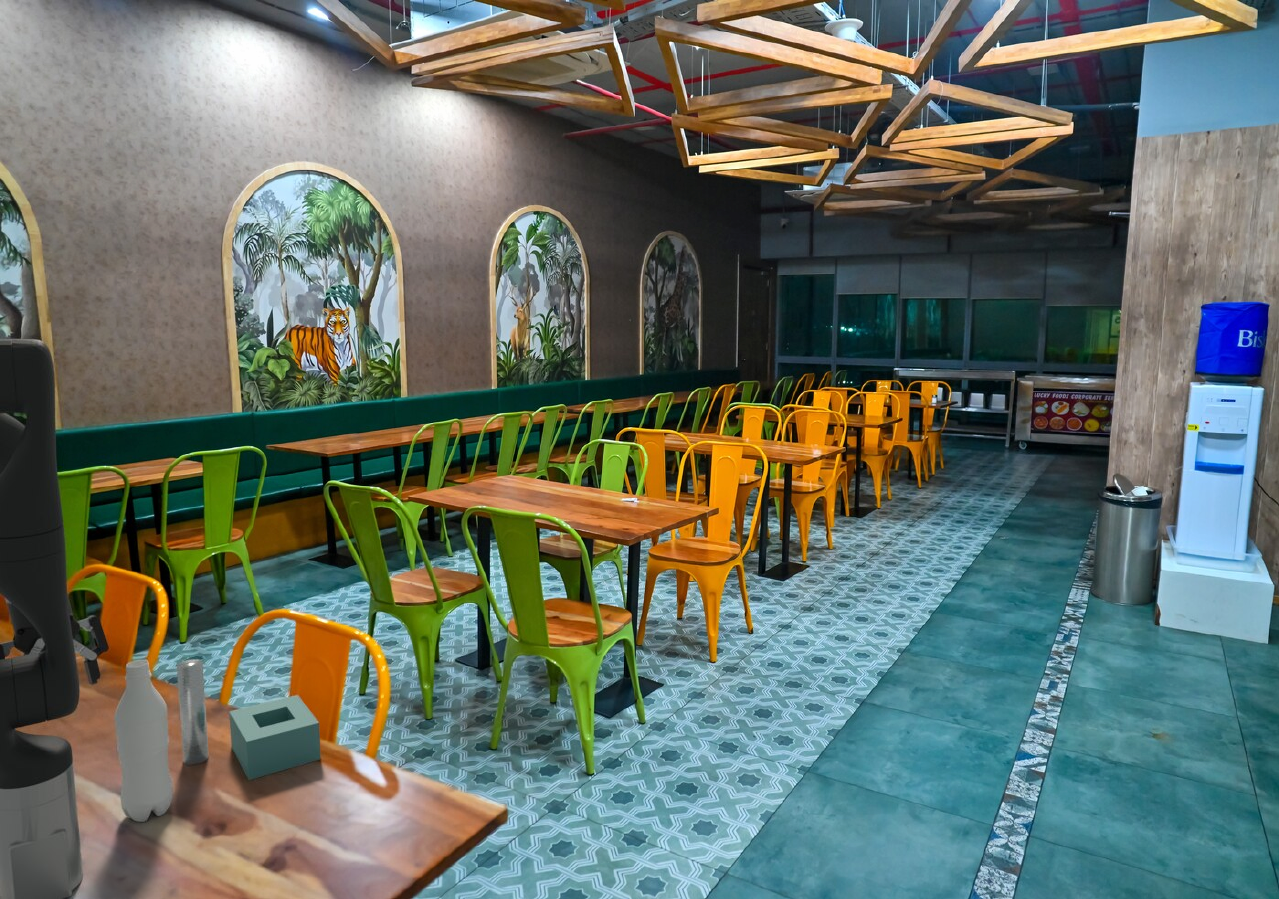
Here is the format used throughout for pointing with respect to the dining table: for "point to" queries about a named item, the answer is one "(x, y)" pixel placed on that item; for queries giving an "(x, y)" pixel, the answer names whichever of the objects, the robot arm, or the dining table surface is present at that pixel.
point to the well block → (274, 736)
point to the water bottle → (143, 745)
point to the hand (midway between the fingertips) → (61, 694)
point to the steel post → (192, 711)
